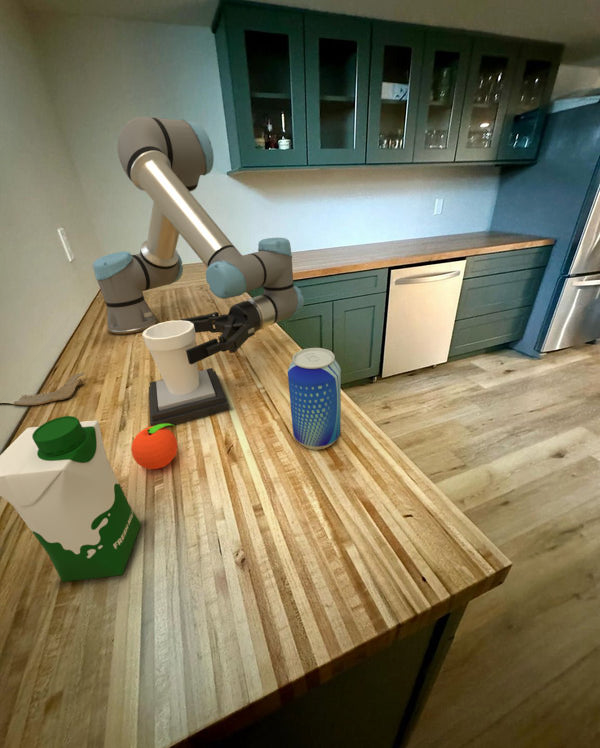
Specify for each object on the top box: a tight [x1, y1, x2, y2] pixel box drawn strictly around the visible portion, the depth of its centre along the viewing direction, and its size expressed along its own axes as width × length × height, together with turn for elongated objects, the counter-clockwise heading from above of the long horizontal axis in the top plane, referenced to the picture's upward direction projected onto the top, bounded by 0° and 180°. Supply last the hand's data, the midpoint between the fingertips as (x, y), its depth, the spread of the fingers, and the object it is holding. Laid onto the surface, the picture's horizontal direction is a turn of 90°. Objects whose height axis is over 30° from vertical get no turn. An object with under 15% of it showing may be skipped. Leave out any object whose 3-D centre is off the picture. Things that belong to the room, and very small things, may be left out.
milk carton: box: [0, 415, 142, 583], centre depth 38 cm, size 9×9×20 cm
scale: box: [148, 367, 230, 428], centre depth 72 cm, size 15×15×3 cm
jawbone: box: [13, 372, 85, 406], centre depth 76 cm, size 9×20×2 cm, turn 119°
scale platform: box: [155, 369, 216, 411], centre depth 71 cm, size 11×11×2 cm
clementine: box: [130, 423, 178, 470], centre depth 55 cm, size 8×7×7 cm
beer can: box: [287, 347, 342, 451], centre depth 56 cm, size 8×8×16 cm
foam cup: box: [142, 319, 199, 395], centre depth 68 cm, size 10×9×13 cm
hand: (169, 348), depth 66 cm, fingers open, 13 cm apart
